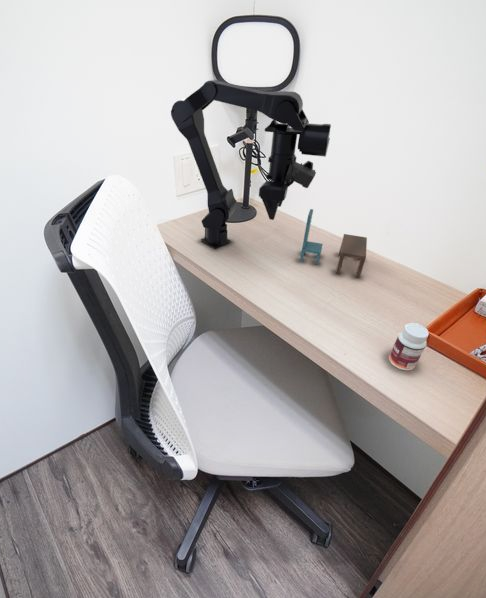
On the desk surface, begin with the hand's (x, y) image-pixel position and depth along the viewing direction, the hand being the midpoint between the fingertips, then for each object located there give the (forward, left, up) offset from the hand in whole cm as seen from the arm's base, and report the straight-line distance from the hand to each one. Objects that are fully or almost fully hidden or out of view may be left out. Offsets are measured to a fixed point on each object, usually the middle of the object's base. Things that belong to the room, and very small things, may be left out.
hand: (275, 212), depth 97 cm
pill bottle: (+45, -14, -12) cm, 49 cm away
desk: (+19, +10, -12) cm, 25 cm away
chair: (+10, +5, -12) cm, 16 cm away
